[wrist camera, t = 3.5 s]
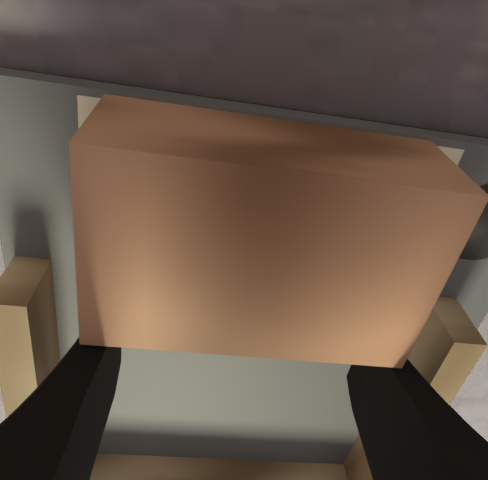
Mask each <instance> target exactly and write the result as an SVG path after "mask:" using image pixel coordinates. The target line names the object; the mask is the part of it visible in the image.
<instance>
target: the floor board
mask: <svg viewBox="0 0 488 480" xmlns="http://www.w3.org/2000/svg"><path fill="white" fill-rule="evenodd" d="M104 94H110V95H117V96H124V97H131V98H138V99H145V100H152V101H159V102H166V103H173V104H180V105H187V106H194V107H201V108H207V109H214V110H221V111H228V112H235V113H242V114H249V115H256V116H263V117H270V118H277V119H284V120H291V121H298V122H305V123H312V124H319V125H326V126H333V127H340V128H347V129H354V130H361V131H368V132H375V133H382V134H389V135H396V136H403V137H410V138H417V139H424V140H431V141H432V142H433V143H434V144H435V145H436V146H437V147H438V148H439V149H440V150H441V151H442V152H443V153H444V154H446V155H447V156H448V157H449V158H450V159H451V160H452V161H453V162H454V163H455V164H456V165H457V166H458V167H459V168H460V169H461V170H462V171H464V172H465V173H466V174H467V175H468V176H469V177H470V178H471V179H472V180H473V181H474V182H475V183H476V184H477V185H478V186H479V187H481V188H482V189H483V190H484V191H485V192H486V193H487V194H488V138H481V137H475V136H468V135H461V134H454V133H447V132H440V131H433V130H427V129H420V128H413V127H406V126H399V125H392V124H386V123H379V122H372V121H365V120H358V119H351V118H345V117H338V116H331V115H324V114H317V113H310V112H304V111H297V110H290V109H283V108H276V107H269V106H262V105H256V104H249V103H242V102H235V101H228V100H221V99H215V98H208V97H201V96H194V95H187V94H180V93H174V92H167V91H160V90H153V89H146V88H139V87H132V86H126V85H119V84H112V83H105V82H98V81H91V80H85V79H78V78H71V77H64V76H57V75H50V74H44V73H37V72H30V71H23V70H16V69H9V68H2V67H0V239H1V245H2V252H3V258H4V264H5V269H6V268H7V266H8V265H9V263H10V262H11V260H12V259H13V257H14V256H20V257H31V258H41V259H51V262H52V273H53V284H54V296H55V307H56V318H57V330H58V341H59V352H60V361H61V359H62V358H63V357H64V356H65V354H66V353H67V352H68V351H69V349H70V348H71V347H72V346H73V344H74V343H75V342H76V340H77V339H78V338H79V325H78V307H77V288H76V270H75V251H74V233H73V214H72V195H71V177H70V158H69V141H70V140H71V139H72V137H73V136H74V135H75V133H76V132H77V130H78V129H79V128H80V126H81V125H82V124H83V122H84V121H85V120H86V118H87V117H88V116H89V114H90V113H91V112H92V110H93V109H94V107H95V106H96V105H97V103H98V102H99V101H100V99H101V98H102V97H103V95H104ZM439 297H446V298H456V299H457V300H458V302H459V303H460V305H461V306H462V308H463V309H464V311H465V312H466V314H467V315H468V317H469V318H470V320H471V321H472V323H473V324H474V326H475V327H476V329H478V327H479V325H480V324H481V322H482V320H483V319H484V317H485V316H486V314H487V312H488V202H487V204H486V206H485V208H484V210H483V212H482V214H481V216H480V217H479V219H478V221H477V223H476V225H475V227H474V229H473V231H472V233H471V235H470V237H469V239H468V241H467V243H466V245H465V247H464V249H463V251H462V253H461V255H460V256H459V258H458V260H457V262H456V264H455V266H454V268H453V270H452V272H451V274H450V276H449V278H448V280H447V282H446V284H445V286H444V288H443V290H442V292H441V294H440V295H439ZM350 366H351V364H337V363H324V362H310V361H297V360H283V359H270V358H256V357H243V356H229V355H216V354H202V353H189V352H175V351H162V350H148V349H135V348H121V365H120V370H119V376H118V381H117V386H116V392H115V396H114V399H113V403H112V406H111V409H110V413H109V416H108V419H107V423H106V426H105V429H104V433H103V436H102V439H101V443H100V446H99V449H98V452H97V453H101V454H123V455H146V456H168V457H191V458H213V459H236V460H258V461H280V462H303V463H325V464H344V463H345V461H346V459H347V457H348V455H349V452H350V450H351V448H352V446H353V444H354V442H355V440H356V438H357V436H358V434H359V432H358V428H357V425H356V422H355V418H354V415H353V411H352V407H351V402H350V396H349V390H348V383H347V377H346V376H347V374H348V371H349V369H350Z"/></svg>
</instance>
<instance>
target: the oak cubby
mask: <svg viewBox="0 0 488 480" xmlns="http://www.w3.org/2000/svg"><path fill="white" fill-rule="evenodd" d="M486 347H487V344H486V342H485V341H484V339H483V338H482V336H481V335H480V333H479V332H478V330H477V329H476V327H475V326H474V324H473V323H472V321H471V320H470V318H469V317H468V315H467V314H466V312H465V311H464V309H463V308H462V306H461V305H460V303H459V302H458V300H457V299H456V298H446V297H438V299H437V301H436V303H435V305H434V307H433V309H432V311H431V313H430V315H429V317H428V319H427V321H426V323H425V325H424V327H423V329H422V331H421V333H420V334H419V336H418V338H417V340H416V342H415V344H414V346H413V348H412V350H411V352H410V354H409V356H408V358H407V359H408V360H409V361H410V362H411V363H412V365H413V366H414V367H415V368H416V369H417V370H418V371H419V373H420V374H421V375H422V376H423V377H424V378H425V379H426V381H427V382H428V383H429V384H430V385H431V386H432V387H433V388H434V389H435V391H436V392H437V393H438V394H439V395H440V396H441V397H442V398H443V399H444V400H445V401H446V402H447V403H448V404H449V405H450V403H451V402H452V400H453V398H454V397H455V395H456V394H457V392H458V391H459V389H460V387H461V386H462V384H463V383H464V381H465V380H466V378H467V376H468V375H469V373H470V372H471V370H472V369H473V367H474V365H475V364H476V362H477V361H478V359H479V358H480V356H481V354H482V353H483V351H484V350H485V348H486ZM59 362H60V352H59V341H58V330H57V318H56V307H55V296H54V284H53V273H52V262H51V259H41V258H31V257H20V256H14V257H13V259H12V260H11V262H10V263H9V265H8V266H7V268H6V269H5V271H4V273H3V274H2V276H1V277H0V387H1V392H2V397H3V402H4V407H5V412H6V417H8V416H9V415H10V414H11V413H12V412H13V411H14V410H15V409H17V408H18V407H19V406H20V405H21V404H22V403H23V402H24V401H25V400H26V399H27V397H28V396H29V395H30V394H31V393H32V392H33V391H34V390H35V389H36V388H37V387H38V386H39V385H40V384H41V382H42V381H43V380H44V379H45V378H46V377H47V376H48V375H49V373H50V372H51V371H52V370H53V369H54V368H55V367H56V365H57V364H58V363H59ZM90 480H373V478H372V475H371V471H370V468H369V465H368V462H367V458H366V455H365V452H364V448H363V445H362V442H361V439H360V435H359V434H358V436H357V438H356V440H355V442H354V444H353V446H352V448H351V450H350V452H349V455H348V457H347V459H346V461H345V463H344V464H325V463H303V462H280V461H258V460H236V459H213V458H191V457H168V456H146V455H123V454H101V453H97V456H96V459H95V462H94V466H93V469H92V472H91V476H90Z"/></svg>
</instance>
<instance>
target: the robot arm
mask: <svg viewBox="0 0 488 480" xmlns="http://www.w3.org/2000/svg"><path fill="white" fill-rule="evenodd" d="M120 365H121V347H108V346H94V345H81V344H79V338H78V339H77V340H76V342H75V343H74V344H73V346H72V347H71V348H70V349H69V351H68V352H67V353H66V354H65V356H64V357H63V358H62V359H61V361H60V362H59V363H58V364H57V365H56V367H55V368H54V369H53V370H52V371H51V372H50V373H49V375H48V376H47V377H46V378H45V379H44V380H43V381H42V382H41V384H40V385H39V386H38V387H37V388H36V389H35V390H34V391H33V392H32V393H31V394H30V395H29V396H28V397H27V399H26V400H25V401H24V402H23V403H22V404H21V405H20V406H19V407H18V408H17V409H15V410H14V411H13V412H12V413H11V414H10V415H9V416H8V417H7V418H6V419H5V420H4V421H3V422H2V423H1V424H0V480H90V476H91V472H92V469H93V466H94V462H95V459H96V456H97V452H98V449H99V446H100V443H101V439H102V436H103V433H104V429H105V426H106V423H107V419H108V416H109V413H110V409H111V406H112V403H113V399H114V396H115V392H116V386H117V381H118V376H119V370H120ZM346 377H347V383H348V390H349V396H350V402H351V407H352V411H353V415H354V418H355V422H356V425H357V428H358V432H359V435H360V439H361V442H362V445H363V448H364V452H365V455H366V458H367V462H368V465H369V468H370V471H371V475H372V478H373V480H488V442H487V441H486V440H485V439H484V438H483V437H482V436H481V435H479V434H478V433H477V432H476V431H475V430H474V429H473V428H472V427H471V426H470V425H469V424H468V423H467V422H466V421H465V420H463V419H462V417H461V416H460V415H459V414H458V413H457V412H456V411H455V410H454V409H453V408H452V407H451V406H450V405H449V404H448V403H447V402H446V401H445V400H444V399H443V398H442V397H441V396H440V395H439V394H438V393H437V392H436V391H435V389H434V388H433V387H432V386H431V385H430V384H429V383H428V382H427V381H426V379H425V378H424V377H423V376H422V375H421V374H420V373H419V371H418V370H417V369H416V368H415V367H414V366H413V365H412V363H411V362H410V361H409V360H408V359H407V360H406V362H405V364H404V366H403V368H391V367H378V366H364V365H351V366H350V369H349V371H348V374H347V376H346Z"/></svg>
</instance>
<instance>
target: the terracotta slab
mask: <svg viewBox="0 0 488 480" xmlns="http://www.w3.org/2000/svg"><path fill="white" fill-rule="evenodd" d="M69 158H70V177H71V195H72V214H73V233H74V251H75V270H76V288H77V307H78V325H79V344H81V345H94V346H108V347H121V348H135V349H148V350H162V351H175V352H189V353H202V354H216V355H229V356H243V357H256V358H270V359H283V360H297V361H310V362H324V363H337V364H351V365H364V366H378V367H391V368H403V366H404V364H405V362H406V360H407V358H408V356H409V354H410V352H411V350H412V348H413V346H414V344H415V342H416V340H417V338H418V336H419V334H420V333H421V331H422V329H423V327H424V325H425V323H426V321H427V319H428V317H429V315H430V313H431V311H432V309H433V307H434V305H435V303H436V301H437V299H438V297H439V295H440V294H441V292H442V290H443V288H444V286H445V284H446V282H447V280H448V278H449V276H450V274H451V272H452V270H453V268H454V266H455V264H456V262H457V260H458V258H459V256H460V255H461V253H462V251H463V249H464V247H465V245H466V243H467V241H468V239H469V237H470V235H471V233H472V231H473V229H474V227H475V225H476V223H477V221H478V219H479V217H480V216H481V214H482V212H483V210H484V208H485V206H486V204H487V202H488V194H487V193H486V192H485V191H484V190H483V189H482V188H481V187H479V186H478V185H477V184H476V183H475V182H474V181H473V180H472V179H471V178H470V177H469V176H468V175H467V174H466V173H465V172H464V171H462V170H461V169H460V168H459V167H458V166H457V165H456V164H455V163H454V162H453V161H452V160H451V159H450V158H449V157H448V156H447V155H446V154H444V153H443V152H442V151H441V150H440V149H439V148H438V147H437V146H436V145H435V144H434V143H433V142H432V141H431V140H424V139H417V138H410V137H403V136H396V135H389V134H382V133H375V132H368V131H361V130H354V129H347V128H340V127H333V126H326V125H319V124H312V123H305V122H298V121H291V120H284V119H277V118H270V117H263V116H256V115H249V114H242V113H235V112H228V111H221V110H214V109H207V108H201V107H194V106H187V105H180V104H173V103H166V102H159V101H152V100H145V99H138V98H131V97H124V96H117V95H110V94H104V95H103V97H102V98H101V99H100V101H99V102H98V103H97V105H96V106H95V107H94V109H93V110H92V112H91V113H90V114H89V116H88V117H87V118H86V120H85V121H84V122H83V124H82V125H81V126H80V128H79V129H78V130H77V132H76V133H75V135H74V136H73V137H72V139H71V140H70V141H69Z"/></svg>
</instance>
